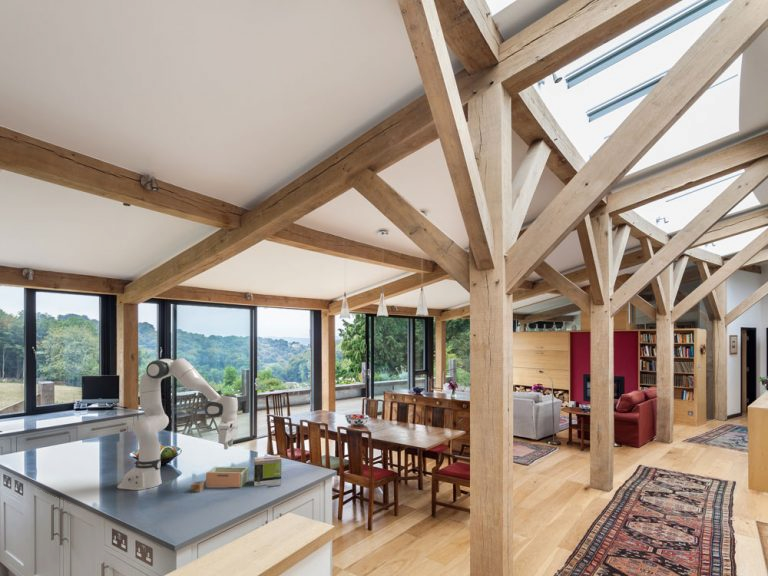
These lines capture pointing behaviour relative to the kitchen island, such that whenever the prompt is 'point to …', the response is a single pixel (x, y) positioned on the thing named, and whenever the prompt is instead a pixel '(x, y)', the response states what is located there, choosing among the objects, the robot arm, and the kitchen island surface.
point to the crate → (243, 471)
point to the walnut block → (197, 487)
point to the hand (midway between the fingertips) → (228, 447)
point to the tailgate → (223, 479)
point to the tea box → (267, 470)
